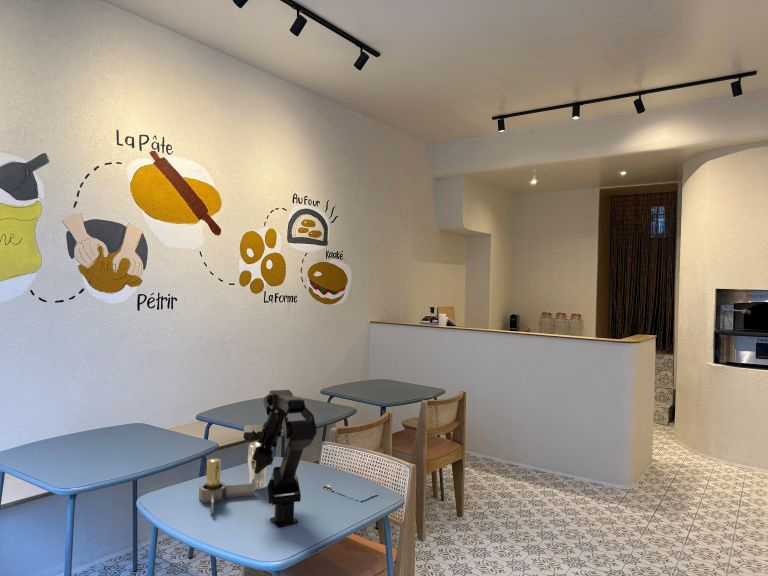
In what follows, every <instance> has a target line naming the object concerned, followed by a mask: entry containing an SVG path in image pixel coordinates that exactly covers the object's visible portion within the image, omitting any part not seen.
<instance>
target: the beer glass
mask: <svg viewBox="0 0 768 576" xmlns="http://www.w3.org/2000/svg"><path fill="white" fill-rule="evenodd" d="M259 446H260V447H261V443H258V440H256V441H251V442H250V443H249V444H248V452H247V464H248V472H249V473H248V474H249V481H248V483H255V491H257V490H263V489H265V488H266V487H267V484H266V473H267V472H266V471H267V467H265V468H264V469H263V470H262V471H260V472H259V473H258V474H256V473H255V466H256V461H255V460H253V459H252V458H253V455H254V452H255V449H256V448H257V447H259Z"/></svg>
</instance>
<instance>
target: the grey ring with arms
mask: <svg viewBox="0 0 768 576" xmlns="http://www.w3.org/2000/svg"><path fill="white" fill-rule="evenodd" d="M198 489H199V490H198V500H199V499H200V500H201V501H200V500H199V501H200V502H201V503H202V502H205V503H204V504H210V516H214V511H215V510H214V508H215V504H216V503H215V502H217V503H221V502H223V501H224V500H225V499H229V498H228V497H230V498H239V497H240V498H241V497H252V496H256V490H255V483H249V482H248V483H247V482H246V483H235V484H233V483H232V484H225V482H221V481H220V488H219V489H214V490H209V489H206V482H205V483H202V485H200V486H199V487H198ZM220 501H221V502H220Z"/></svg>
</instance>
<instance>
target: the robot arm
mask: <svg viewBox="0 0 768 576" xmlns="http://www.w3.org/2000/svg"><path fill="white" fill-rule="evenodd" d="M262 403H263V406H264V409H265V412H266V415H267V419H266V421H265V422H264V423H263V424H246V425H245V426H244V429H243V440H244V441H246V442H255V441H258V443H261V447H260V446H259V447H257V448H256V449H255V452H254V455H253V458H252V459H253V460H255V461H256V466H255V473H256V474H258V473H259V472H260V471H262V470H263V469H264V468H265V467H266V468H267V467H268V466H271V465H272V464H273V461H274V459H275V452H274V450H273V449H272V447H273V448H276V447H277V445H278V441H279V439H280V437H281V436H282V433H283V437H284V440H285V443H286V447H285V450H284V454H283V456H282V459H281V460H282V461H281V464H280V466H274V468H273V470H272V473H271V477H270V479H268V483H267V484H266V487H267V495H268V496H267V497H268V504H271V506H274V516H273V517H270V518H269V520H270V522H272V523H273V524H274V525H275V526H277V527H278V528H282V527H287V526H291V525H293V524H297V523H299V520H298V519H297V518H295V515H294V514H295V503H300V502H301V498H302V496H301V494H302V493H301V489H300V483H299V479H298V476H297V470H298V467H299V464H300V460H301V458H302V455H303V451H304V449H305V448H307V447H308V446H310V445H312V444H313V441H314V439H315V437H316V435H317V425H316V421H315V417H314V415H313V413H312V412H311V411H310V410H309V408H307V407H306V404H305V400H304V399H302V398H297V397H296V396H294V395H293V392H292V391H291V390H290V389H277V390H276V389H275V390H270V391H269V393H268V394H267V395H266V396H265V397H264V398H263V401H262ZM290 414H291V415H292V414H300V415H301V416H302V417H303V418H304V419H303V420H301V419H300V420H290V421H289V415H290ZM288 494H289V495H288Z"/></svg>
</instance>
